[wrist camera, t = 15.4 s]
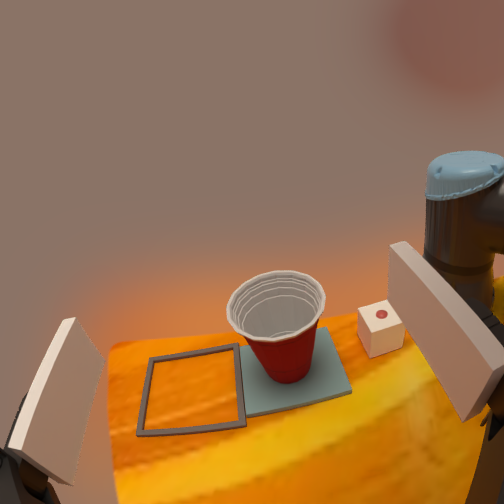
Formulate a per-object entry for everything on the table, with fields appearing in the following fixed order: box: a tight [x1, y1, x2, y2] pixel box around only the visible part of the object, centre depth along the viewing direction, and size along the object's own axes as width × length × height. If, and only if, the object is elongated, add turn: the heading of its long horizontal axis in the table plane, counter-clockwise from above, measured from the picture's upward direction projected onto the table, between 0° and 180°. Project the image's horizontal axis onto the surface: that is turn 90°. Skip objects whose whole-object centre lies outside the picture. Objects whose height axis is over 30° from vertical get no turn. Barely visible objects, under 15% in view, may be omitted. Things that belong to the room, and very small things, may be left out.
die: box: [357, 300, 405, 358], centre depth 38 cm, size 5×5×5 cm
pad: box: [240, 327, 352, 418], centre depth 39 cm, size 13×12×1 cm
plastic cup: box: [226, 271, 326, 384], centre depth 36 cm, size 11×11×12 cm
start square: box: [136, 343, 247, 437], centre depth 39 cm, size 15×15×1 cm
